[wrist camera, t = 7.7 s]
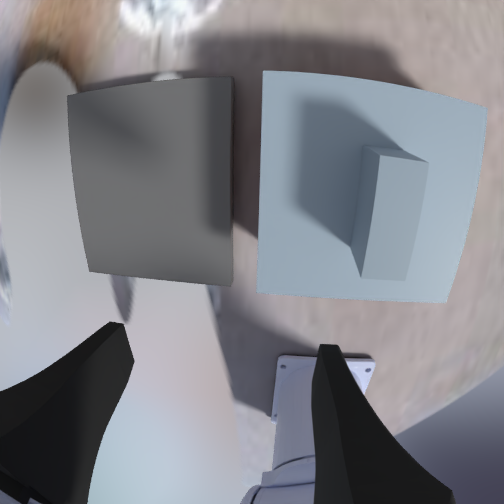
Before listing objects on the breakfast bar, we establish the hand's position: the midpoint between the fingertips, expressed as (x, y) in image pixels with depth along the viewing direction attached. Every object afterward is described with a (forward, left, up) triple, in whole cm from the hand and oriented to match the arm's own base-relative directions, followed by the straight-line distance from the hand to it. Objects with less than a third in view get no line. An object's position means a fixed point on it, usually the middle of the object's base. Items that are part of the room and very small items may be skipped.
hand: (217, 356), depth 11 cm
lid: (+4, -6, -7) cm, 10 cm away
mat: (+3, +7, -10) cm, 13 cm away
